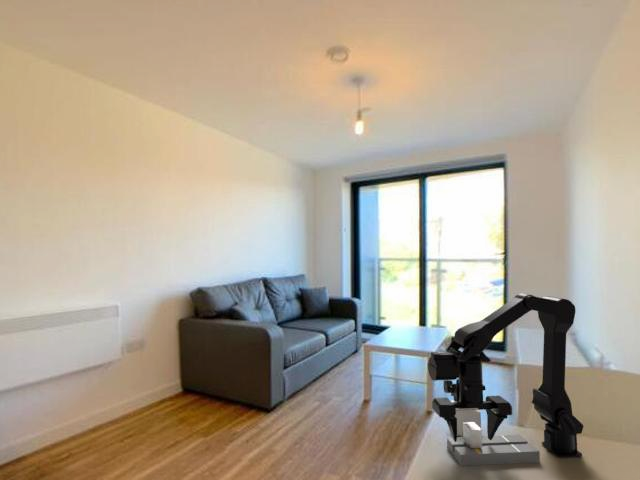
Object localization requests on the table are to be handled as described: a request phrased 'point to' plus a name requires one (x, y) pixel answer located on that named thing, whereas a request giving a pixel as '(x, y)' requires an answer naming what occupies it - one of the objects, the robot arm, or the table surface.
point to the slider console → (494, 451)
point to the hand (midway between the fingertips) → (472, 440)
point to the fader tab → (472, 435)
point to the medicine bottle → (466, 418)
